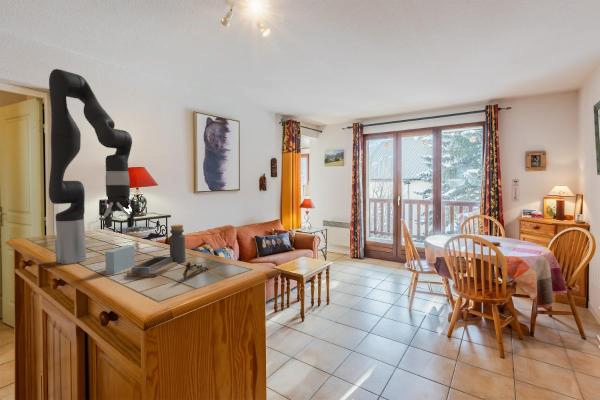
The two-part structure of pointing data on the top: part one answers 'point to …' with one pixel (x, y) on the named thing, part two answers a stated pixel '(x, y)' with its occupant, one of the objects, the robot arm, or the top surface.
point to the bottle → (177, 244)
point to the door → (119, 259)
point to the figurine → (192, 268)
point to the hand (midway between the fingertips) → (119, 227)
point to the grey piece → (153, 267)
